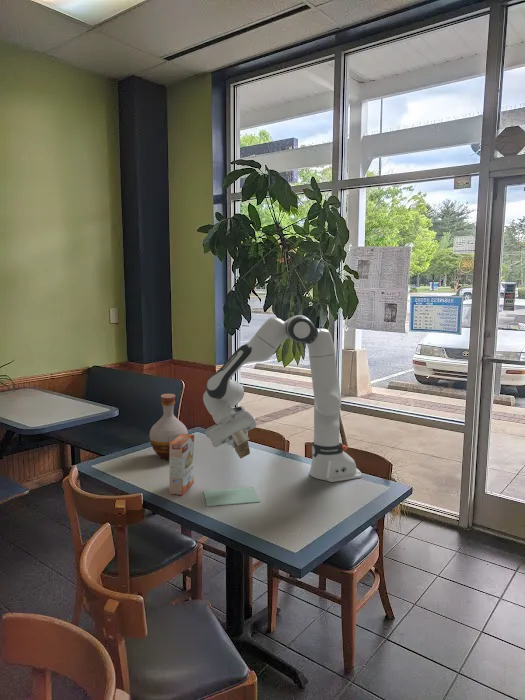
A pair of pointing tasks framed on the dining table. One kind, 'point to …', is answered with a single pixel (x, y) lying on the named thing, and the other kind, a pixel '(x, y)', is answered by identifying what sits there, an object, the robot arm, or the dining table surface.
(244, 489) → the rubber mat
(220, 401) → the robot arm
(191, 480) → the cracker box
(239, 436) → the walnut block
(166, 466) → the dining table surface
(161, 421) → the jug
